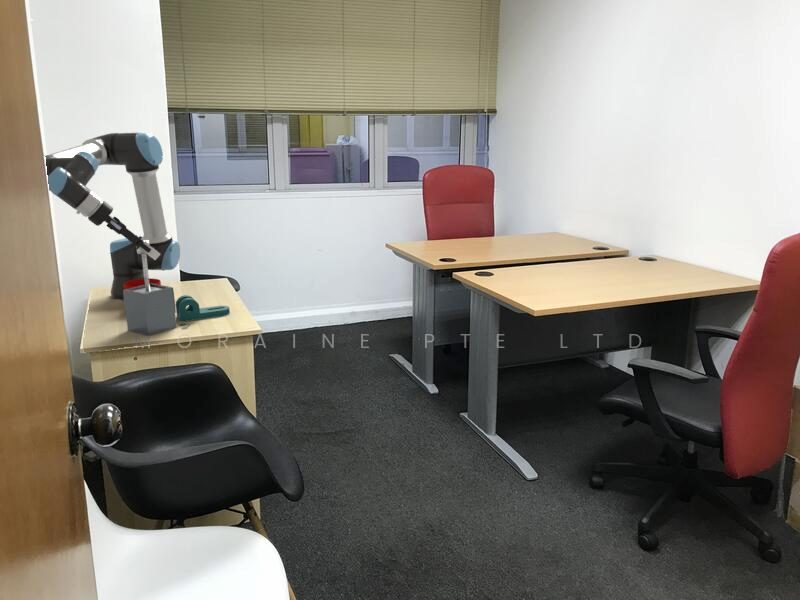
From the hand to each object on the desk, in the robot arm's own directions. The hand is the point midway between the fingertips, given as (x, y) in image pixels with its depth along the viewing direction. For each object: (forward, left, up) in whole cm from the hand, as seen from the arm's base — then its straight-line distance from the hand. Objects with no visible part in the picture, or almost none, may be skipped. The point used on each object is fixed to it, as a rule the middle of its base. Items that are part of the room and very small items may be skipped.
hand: (156, 255), depth 208 cm
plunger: (+3, -2, -12) cm, 13 cm away
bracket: (-17, +1, -25) cm, 30 cm away
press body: (+2, -2, -25) cm, 25 cm away
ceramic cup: (-13, -25, -25) cm, 37 cm away
